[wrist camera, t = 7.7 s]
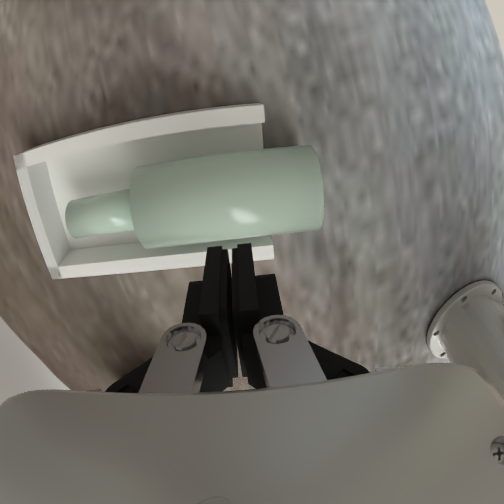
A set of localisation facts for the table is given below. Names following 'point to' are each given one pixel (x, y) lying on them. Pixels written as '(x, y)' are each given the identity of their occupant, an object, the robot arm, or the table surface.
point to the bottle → (210, 199)
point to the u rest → (127, 185)
